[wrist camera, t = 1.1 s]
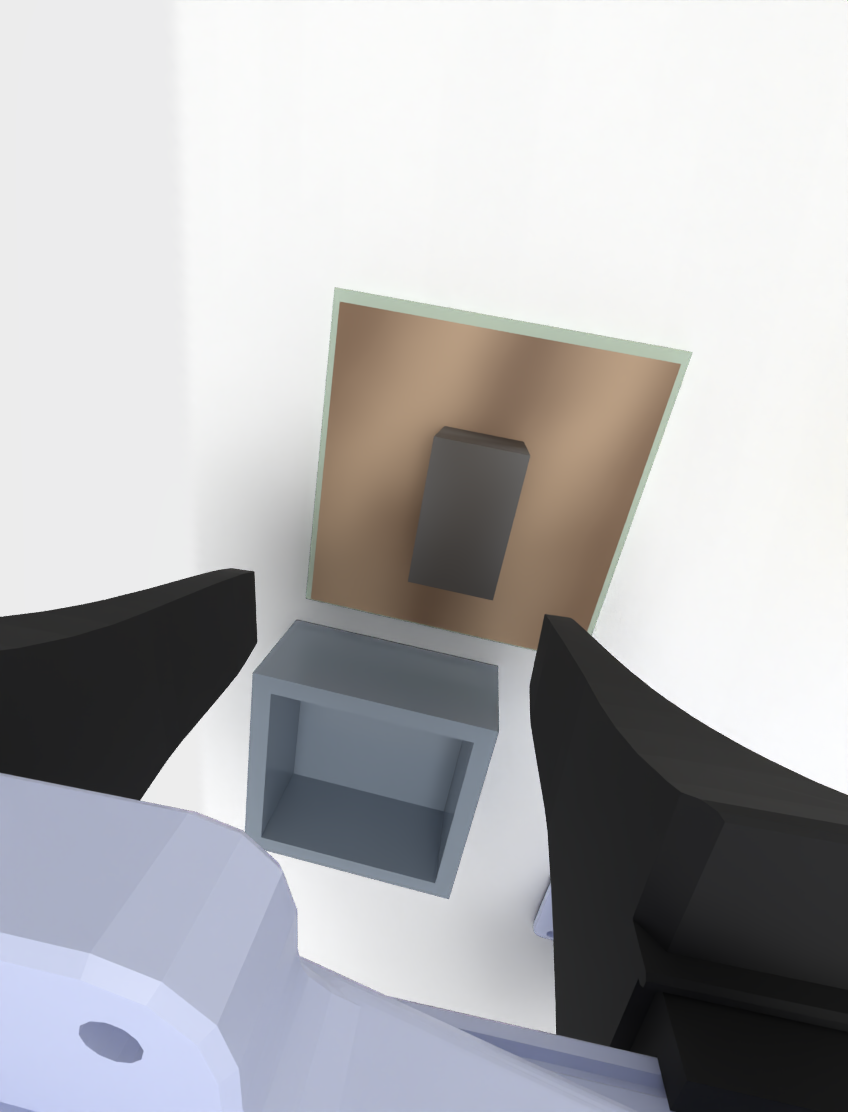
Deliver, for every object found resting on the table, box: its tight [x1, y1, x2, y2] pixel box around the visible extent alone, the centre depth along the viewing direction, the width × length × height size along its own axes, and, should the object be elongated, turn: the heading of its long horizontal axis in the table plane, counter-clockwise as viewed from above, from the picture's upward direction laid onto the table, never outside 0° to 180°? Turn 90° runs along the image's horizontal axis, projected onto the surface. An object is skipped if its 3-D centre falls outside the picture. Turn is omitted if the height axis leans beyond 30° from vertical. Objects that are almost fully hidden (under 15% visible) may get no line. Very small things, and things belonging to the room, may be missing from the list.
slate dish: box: [245, 620, 499, 899], centre depth 23 cm, size 10×10×4 cm
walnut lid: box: [311, 302, 681, 650], centre depth 17 cm, size 12×12×4 cm
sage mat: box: [306, 287, 693, 651], centre depth 20 cm, size 13×13×1 cm
